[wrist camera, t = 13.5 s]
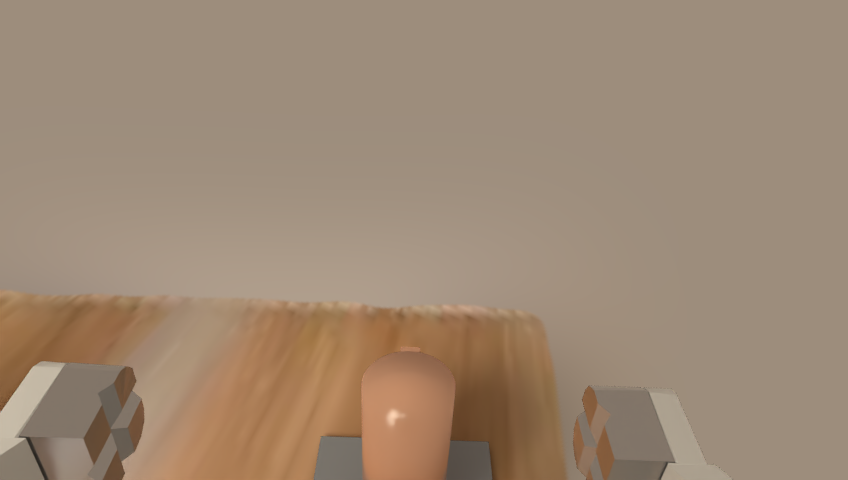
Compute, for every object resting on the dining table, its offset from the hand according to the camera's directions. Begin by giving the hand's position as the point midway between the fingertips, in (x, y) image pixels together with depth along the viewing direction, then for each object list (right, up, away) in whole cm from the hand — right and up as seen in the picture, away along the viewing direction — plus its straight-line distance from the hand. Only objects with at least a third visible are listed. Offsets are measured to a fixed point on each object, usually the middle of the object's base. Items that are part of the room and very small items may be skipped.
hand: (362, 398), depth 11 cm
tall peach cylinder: (0, -14, +30) cm, 33 cm away
